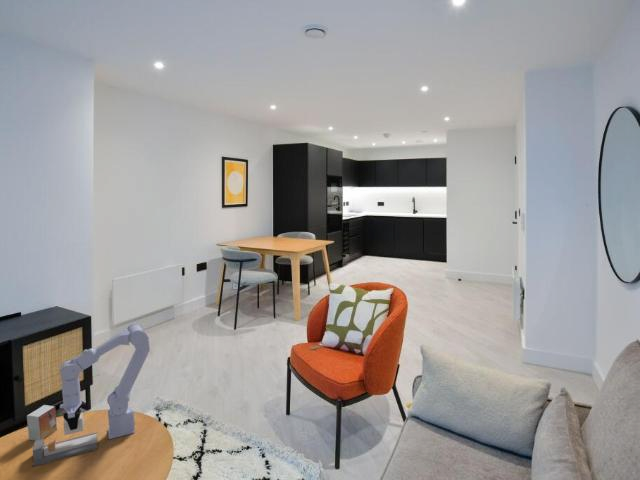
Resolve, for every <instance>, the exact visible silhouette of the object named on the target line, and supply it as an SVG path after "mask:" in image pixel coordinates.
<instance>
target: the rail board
mask: <svg viewBox="0 0 640 480" xmlns="http://www.w3.org/2000/svg"><path fill="white" fill-rule="evenodd" d="M96 450H98V432H97V431H96V432H93V433H89V434H85V435H81V436H78V437H73V438H69V439H65V440H62V441H58V442H57V441H56V447H55V450H52V451H48V444H46V445H45V439H41V440H37V441H34V444H33V448H32V457H33V460H32V461H33V463H32V467H36V466H40V465H44V464H47V463H51V462H55V461H58V460H62V459H66V458H69V457H73V456H77V455H80V454H83V453H88V452H91V451H96Z"/></svg>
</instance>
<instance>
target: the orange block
mask: <svg viewBox="0 0 640 480" xmlns="http://www.w3.org/2000/svg"><path fill="white" fill-rule="evenodd" d="M56 443H57V440H56V437H52V438H48V443H47V445H48V451H52V450H55V447H56Z"/></svg>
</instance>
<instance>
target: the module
mask: <svg viewBox="0 0 640 480" xmlns="http://www.w3.org/2000/svg"><path fill="white" fill-rule="evenodd" d="M84 423H85V422H84V414H83V412H81V414H80V416H79V419H78V426H77V429H74V430H70V428H69V425H68V423H67V421H66V420H65V419H64V418H63V433H64V436H68V435H71V434H76V433H80V432H83V431H84V425H85V424H84Z"/></svg>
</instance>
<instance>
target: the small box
mask: <svg viewBox="0 0 640 480" xmlns="http://www.w3.org/2000/svg"><path fill="white" fill-rule="evenodd" d="M56 414H57V413H56V406H53V405H47V404H43V405H42V406H40V407H39V408H37V409H36V410H34V411H32V412H31V413H29V414H27V415H26V421H27V423H26V424H27V431H28V433H27V434H28V440H30V441H34V442H35V441H37V440H41V439H44V440H45V439H46V438H48V437H49V436H50V435H52V434H54V433H55V432H56V431H57V430H58V425H57V415H56Z"/></svg>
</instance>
